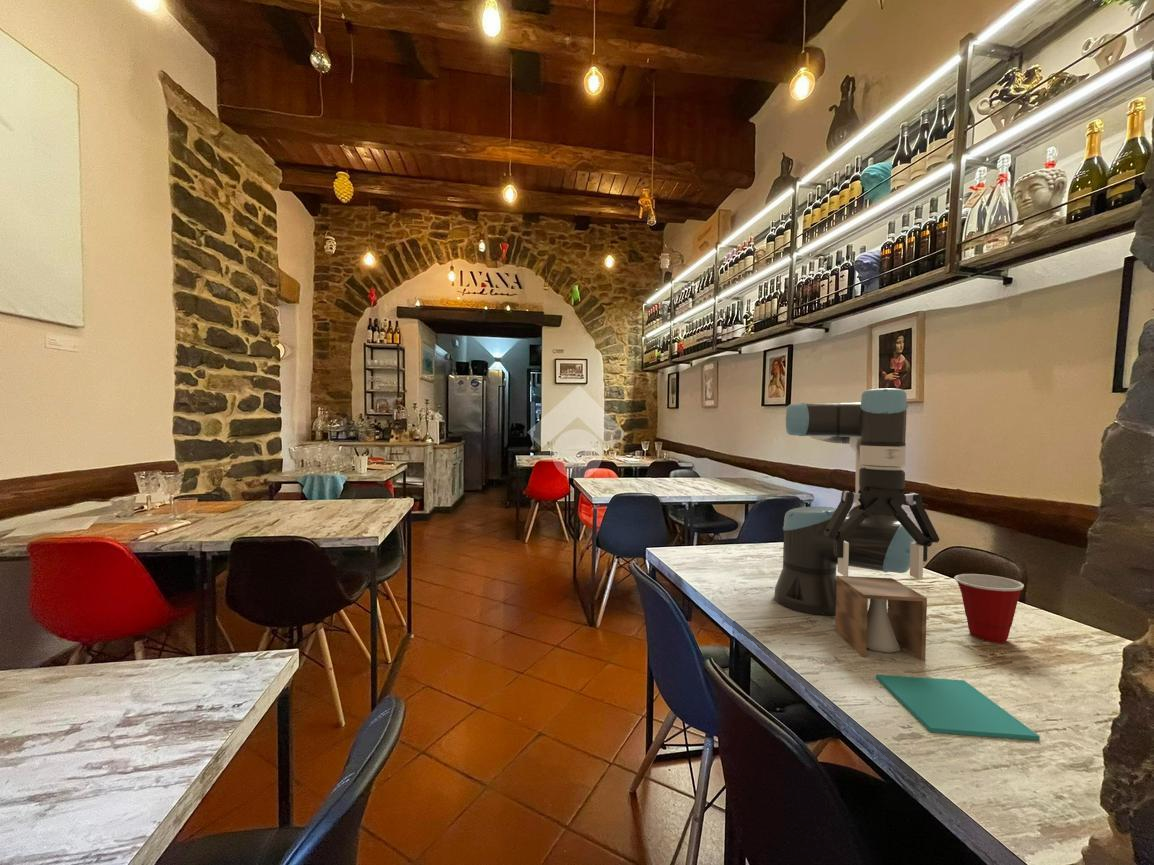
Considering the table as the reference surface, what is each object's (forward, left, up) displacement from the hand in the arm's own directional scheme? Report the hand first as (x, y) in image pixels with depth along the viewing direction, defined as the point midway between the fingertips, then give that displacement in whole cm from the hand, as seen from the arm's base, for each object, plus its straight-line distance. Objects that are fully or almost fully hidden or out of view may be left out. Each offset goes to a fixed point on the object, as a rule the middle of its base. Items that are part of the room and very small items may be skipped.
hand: (879, 575), depth 90 cm
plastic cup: (-7, +25, -14) cm, 30 cm away
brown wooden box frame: (0, 0, -14) cm, 14 cm away
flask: (0, 0, -14) cm, 14 cm away
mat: (+20, 0, -14) cm, 24 cm away
